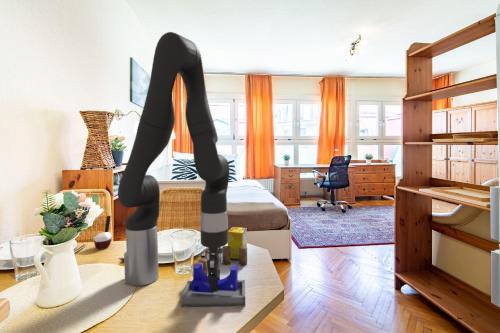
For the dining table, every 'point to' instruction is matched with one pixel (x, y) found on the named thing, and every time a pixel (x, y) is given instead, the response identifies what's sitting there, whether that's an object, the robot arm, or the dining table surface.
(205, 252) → the block
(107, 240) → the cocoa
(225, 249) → the spacer
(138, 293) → the dining table surface
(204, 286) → the cable clip
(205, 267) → the spacer
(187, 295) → the tray
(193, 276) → the spacer
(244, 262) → the spacer
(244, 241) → the supplement box
